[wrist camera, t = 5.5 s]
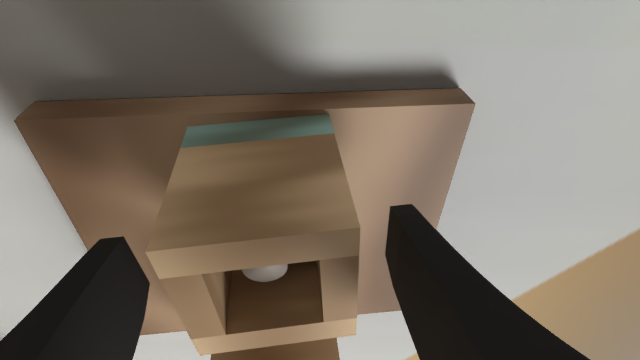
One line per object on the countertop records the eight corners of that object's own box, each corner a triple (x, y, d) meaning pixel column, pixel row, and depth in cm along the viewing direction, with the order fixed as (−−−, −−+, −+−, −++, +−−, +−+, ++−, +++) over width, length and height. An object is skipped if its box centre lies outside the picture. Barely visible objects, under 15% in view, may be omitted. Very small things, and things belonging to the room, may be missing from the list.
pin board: (459, 88, 13) (549, 178, 9) (404, 290, 20) (438, 389, 16) (34, 101, 11) (-94, 217, 7) (143, 313, 19) (109, 428, 15)
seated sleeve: (324, 259, 16) (342, 378, 12) (321, 314, 19) (336, 426, 15) (221, 267, 15) (206, 393, 12) (234, 322, 18) (226, 440, 14)
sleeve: (328, 113, 11) (360, 227, 8) (331, 213, 14) (356, 334, 10) (187, 126, 11) (145, 252, 7) (218, 226, 14) (199, 355, 10)
